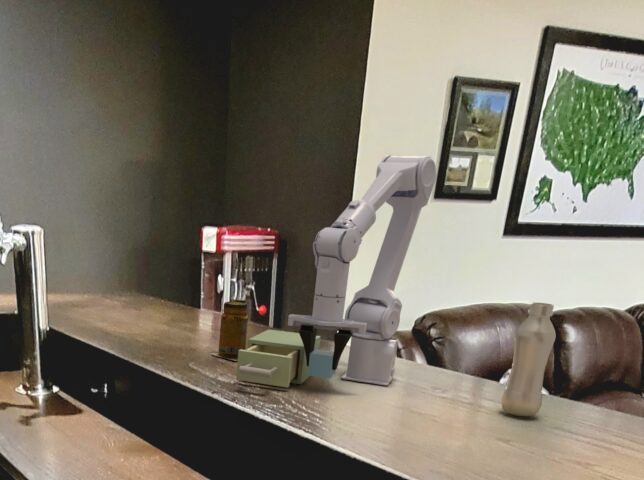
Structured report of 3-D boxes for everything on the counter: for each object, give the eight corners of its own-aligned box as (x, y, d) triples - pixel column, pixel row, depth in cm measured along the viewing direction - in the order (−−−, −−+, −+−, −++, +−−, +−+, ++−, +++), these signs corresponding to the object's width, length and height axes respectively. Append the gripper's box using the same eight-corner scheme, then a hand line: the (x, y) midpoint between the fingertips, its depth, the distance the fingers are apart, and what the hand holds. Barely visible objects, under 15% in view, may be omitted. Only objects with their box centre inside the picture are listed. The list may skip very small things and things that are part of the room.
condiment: (232, 351, 169) (236, 300, 165) (258, 359, 163) (262, 305, 159) (209, 354, 165) (212, 301, 161) (234, 362, 159) (238, 307, 155)
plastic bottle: (542, 422, 127) (568, 308, 121) (502, 417, 128) (525, 304, 122) (533, 412, 133) (558, 303, 127) (495, 408, 134) (517, 300, 128)
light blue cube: (335, 374, 140) (337, 351, 139) (330, 379, 137) (332, 356, 135) (313, 370, 142) (315, 348, 140) (307, 375, 138) (309, 353, 137)
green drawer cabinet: (300, 384, 143) (304, 346, 141) (245, 376, 147) (248, 339, 145) (316, 371, 155) (320, 336, 153) (265, 363, 159) (268, 329, 157)
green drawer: (279, 394, 132) (283, 362, 130) (226, 385, 135) (228, 355, 133) (304, 374, 147) (307, 346, 145) (255, 367, 151) (258, 340, 149)
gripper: (286, 293, 133) (279, 365, 137) (365, 302, 128) (355, 376, 132) (296, 289, 139) (289, 359, 144) (372, 297, 134) (362, 369, 139)
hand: (321, 367), depth 138 cm, fingers closed on light blue cube, 4 cm apart
